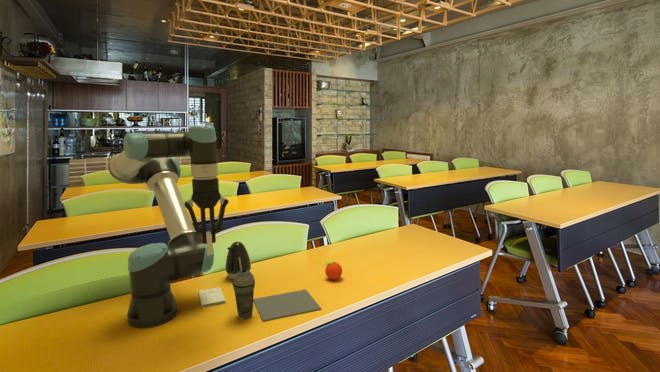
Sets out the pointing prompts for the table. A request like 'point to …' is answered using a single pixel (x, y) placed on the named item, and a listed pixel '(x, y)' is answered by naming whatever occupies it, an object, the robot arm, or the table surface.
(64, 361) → the table surface
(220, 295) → the external hard drive
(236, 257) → the black tapered dome
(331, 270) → the clementine
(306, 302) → the mat
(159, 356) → the table surface
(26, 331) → the table surface
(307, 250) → the table surface
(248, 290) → the beverage cup
